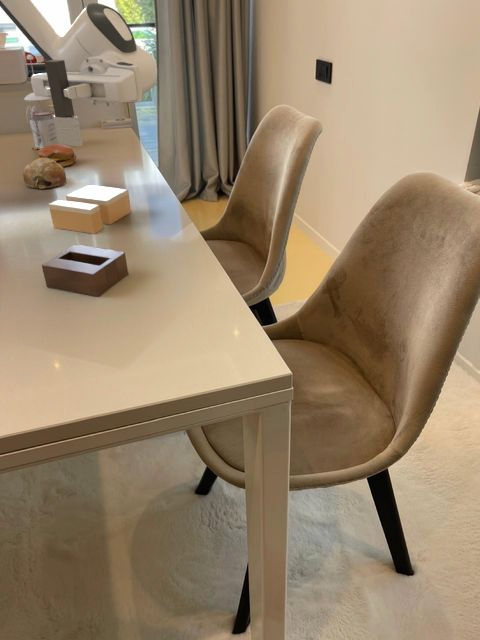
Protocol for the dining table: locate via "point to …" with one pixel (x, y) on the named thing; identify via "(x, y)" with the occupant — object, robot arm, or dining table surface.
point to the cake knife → (62, 105)
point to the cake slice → (76, 216)
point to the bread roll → (44, 174)
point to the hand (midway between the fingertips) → (57, 93)
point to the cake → (104, 201)
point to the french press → (41, 121)
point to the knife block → (85, 270)
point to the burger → (58, 154)
